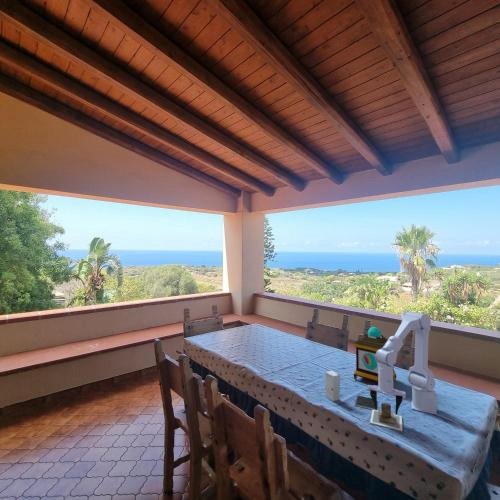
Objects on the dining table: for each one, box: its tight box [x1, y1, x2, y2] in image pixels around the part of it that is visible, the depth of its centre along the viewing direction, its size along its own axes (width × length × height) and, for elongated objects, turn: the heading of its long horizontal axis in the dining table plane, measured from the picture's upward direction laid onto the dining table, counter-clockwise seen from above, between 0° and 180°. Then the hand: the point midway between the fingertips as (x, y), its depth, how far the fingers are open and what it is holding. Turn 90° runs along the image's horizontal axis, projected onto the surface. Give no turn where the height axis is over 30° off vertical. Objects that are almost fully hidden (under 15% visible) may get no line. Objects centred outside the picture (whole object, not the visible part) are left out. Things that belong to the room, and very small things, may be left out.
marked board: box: [369, 409, 404, 433], centre depth 118 cm, size 12×12×1 cm
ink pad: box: [354, 395, 375, 411], centre depth 132 cm, size 9×9×1 cm
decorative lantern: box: [353, 326, 397, 383], centre depth 159 cm, size 20×20×30 cm
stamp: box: [377, 402, 395, 425], centre depth 119 cm, size 6×6×6 cm
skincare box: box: [324, 370, 341, 402], centre depth 138 cm, size 6×4×12 cm
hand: (386, 411), depth 118 cm, fingers open, 7 cm apart
